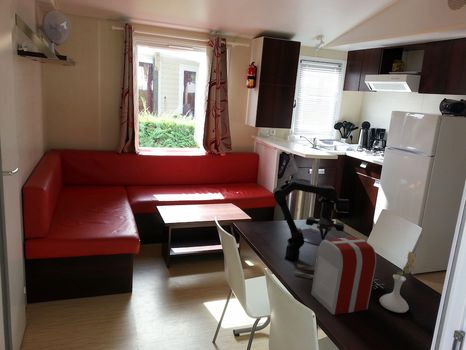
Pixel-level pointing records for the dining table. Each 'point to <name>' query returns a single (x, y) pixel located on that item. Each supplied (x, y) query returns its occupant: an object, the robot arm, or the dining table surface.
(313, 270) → the birch dock
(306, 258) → the dining table surface
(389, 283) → the dining table surface
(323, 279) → the striped gift box
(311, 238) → the toy spaceship
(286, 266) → the dining table surface
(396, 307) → the flower in vase
